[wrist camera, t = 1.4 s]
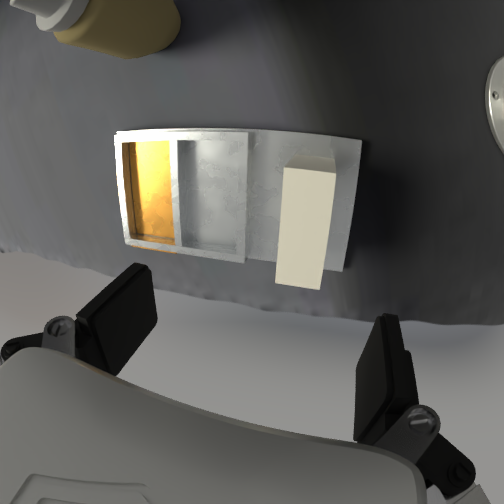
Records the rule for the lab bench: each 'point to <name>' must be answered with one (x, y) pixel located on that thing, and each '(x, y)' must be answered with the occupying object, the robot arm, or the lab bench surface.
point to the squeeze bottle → (108, 24)
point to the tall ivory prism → (305, 220)
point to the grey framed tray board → (224, 189)
